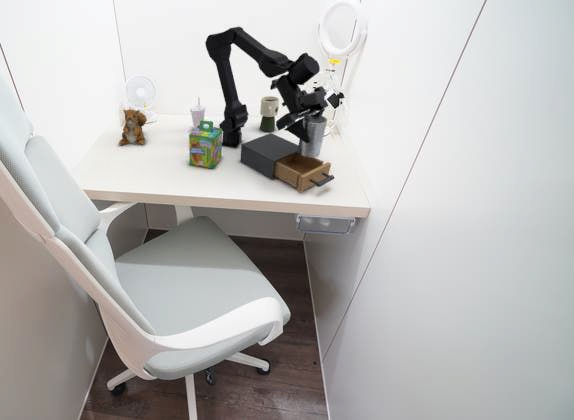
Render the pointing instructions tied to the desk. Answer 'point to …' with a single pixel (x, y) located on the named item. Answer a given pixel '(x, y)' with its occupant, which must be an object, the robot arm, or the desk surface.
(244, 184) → the desk surface
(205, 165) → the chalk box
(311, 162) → the drawer
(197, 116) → the smoothie
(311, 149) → the steel cup
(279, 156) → the organizer
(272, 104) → the character mug
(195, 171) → the desk surface
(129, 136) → the stuffed squirrel
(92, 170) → the desk surface
